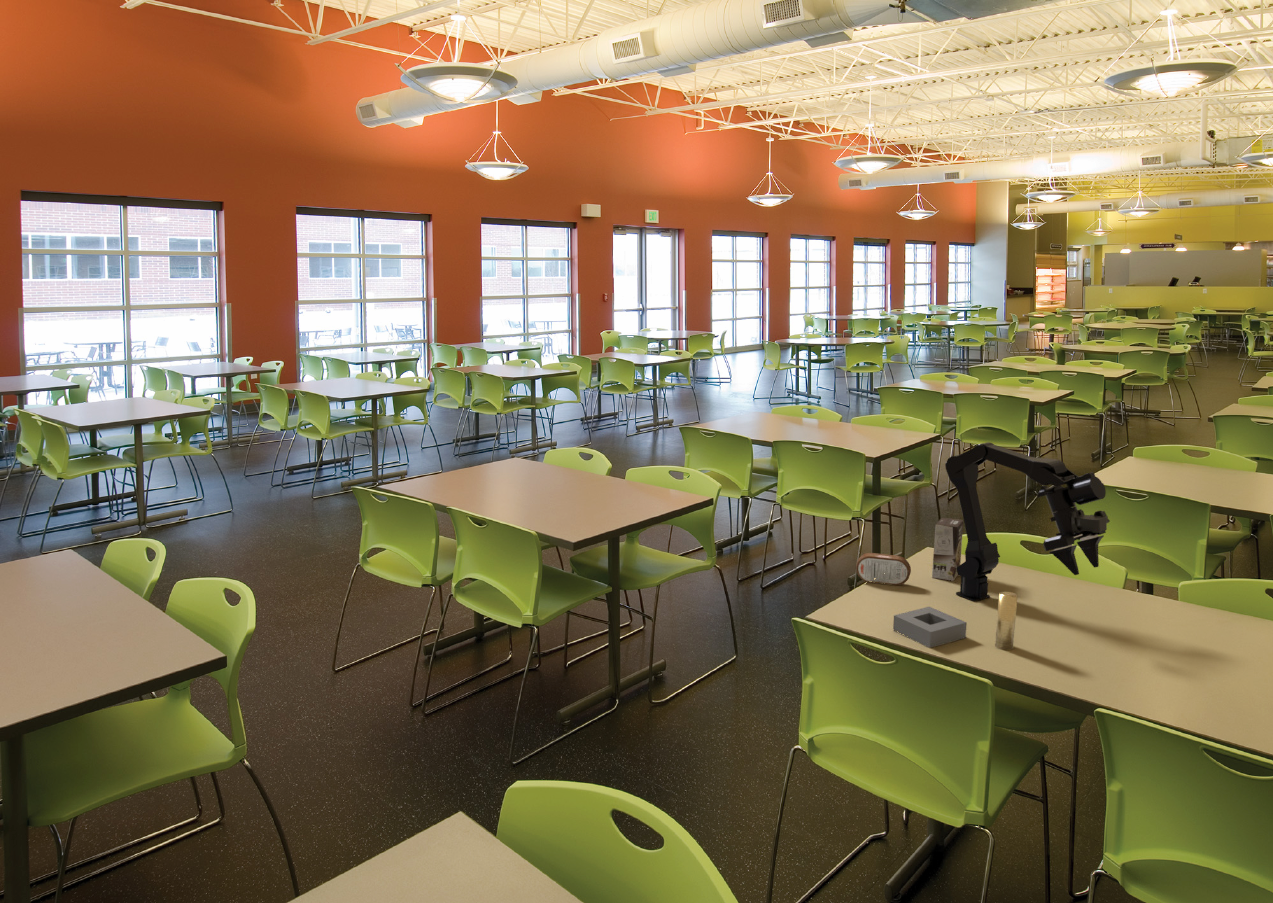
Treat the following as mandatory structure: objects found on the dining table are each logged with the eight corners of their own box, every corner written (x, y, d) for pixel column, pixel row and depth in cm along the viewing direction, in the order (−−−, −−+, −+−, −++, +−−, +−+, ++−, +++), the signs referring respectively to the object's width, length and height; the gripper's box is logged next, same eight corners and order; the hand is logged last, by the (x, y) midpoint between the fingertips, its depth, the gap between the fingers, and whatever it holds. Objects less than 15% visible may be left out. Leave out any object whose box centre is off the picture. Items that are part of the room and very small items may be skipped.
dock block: (893, 630, 226) (893, 615, 226) (928, 621, 232) (929, 606, 231) (929, 647, 216) (930, 632, 215) (965, 637, 222) (966, 622, 221)
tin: (910, 584, 259) (911, 555, 257) (909, 587, 256) (911, 559, 254) (855, 578, 264) (857, 550, 262) (854, 582, 261) (856, 554, 259)
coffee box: (954, 581, 261) (957, 527, 258) (931, 577, 264) (934, 524, 261) (960, 572, 269) (964, 519, 265) (938, 568, 272) (941, 516, 268)
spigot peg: (991, 645, 217) (995, 593, 215) (1002, 641, 219) (1007, 590, 217) (1005, 651, 214) (1009, 598, 211) (1016, 647, 216) (1021, 595, 213)
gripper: (1073, 507, 213) (1098, 572, 210) (1114, 495, 224) (1137, 556, 221) (1032, 518, 222) (1054, 581, 219) (1072, 506, 233) (1094, 565, 230)
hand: (1086, 570), depth 222 cm, fingers open, 9 cm apart
